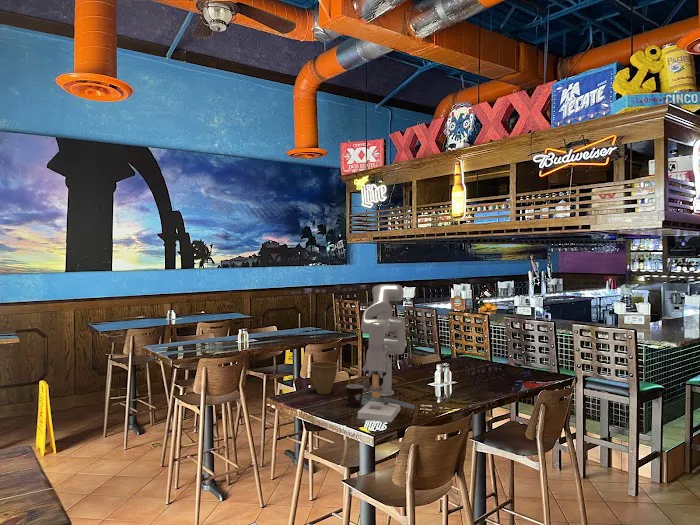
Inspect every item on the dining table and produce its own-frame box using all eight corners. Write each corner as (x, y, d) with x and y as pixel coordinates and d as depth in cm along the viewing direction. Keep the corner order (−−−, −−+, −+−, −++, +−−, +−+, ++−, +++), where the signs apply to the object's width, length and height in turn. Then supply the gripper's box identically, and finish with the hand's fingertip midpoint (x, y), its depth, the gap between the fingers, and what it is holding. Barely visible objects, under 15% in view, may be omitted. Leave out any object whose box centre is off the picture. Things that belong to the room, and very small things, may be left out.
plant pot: (318, 397, 281) (318, 367, 281) (306, 391, 294) (306, 362, 294) (342, 394, 289) (342, 365, 289) (329, 388, 302) (329, 360, 301)
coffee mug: (362, 403, 271) (362, 384, 271) (363, 408, 263) (363, 388, 262) (339, 403, 271) (340, 384, 271) (340, 408, 262) (340, 388, 262)
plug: (371, 394, 258) (371, 369, 258) (383, 395, 256) (384, 370, 256) (367, 397, 252) (368, 372, 252) (380, 399, 250) (381, 373, 250)
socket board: (369, 407, 265) (369, 401, 265) (400, 410, 260) (400, 404, 260) (357, 418, 246) (357, 412, 246) (391, 422, 241) (391, 415, 241)
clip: (382, 403, 260) (382, 397, 260) (385, 402, 262) (385, 396, 262) (411, 412, 246) (412, 406, 246) (415, 411, 248) (415, 405, 248)
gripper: (395, 347, 254) (394, 384, 255) (362, 344, 259) (361, 381, 260) (391, 350, 247) (391, 388, 248) (357, 347, 252) (357, 385, 253)
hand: (376, 384), depth 254 cm, fingers closed on plug, 4 cm apart
